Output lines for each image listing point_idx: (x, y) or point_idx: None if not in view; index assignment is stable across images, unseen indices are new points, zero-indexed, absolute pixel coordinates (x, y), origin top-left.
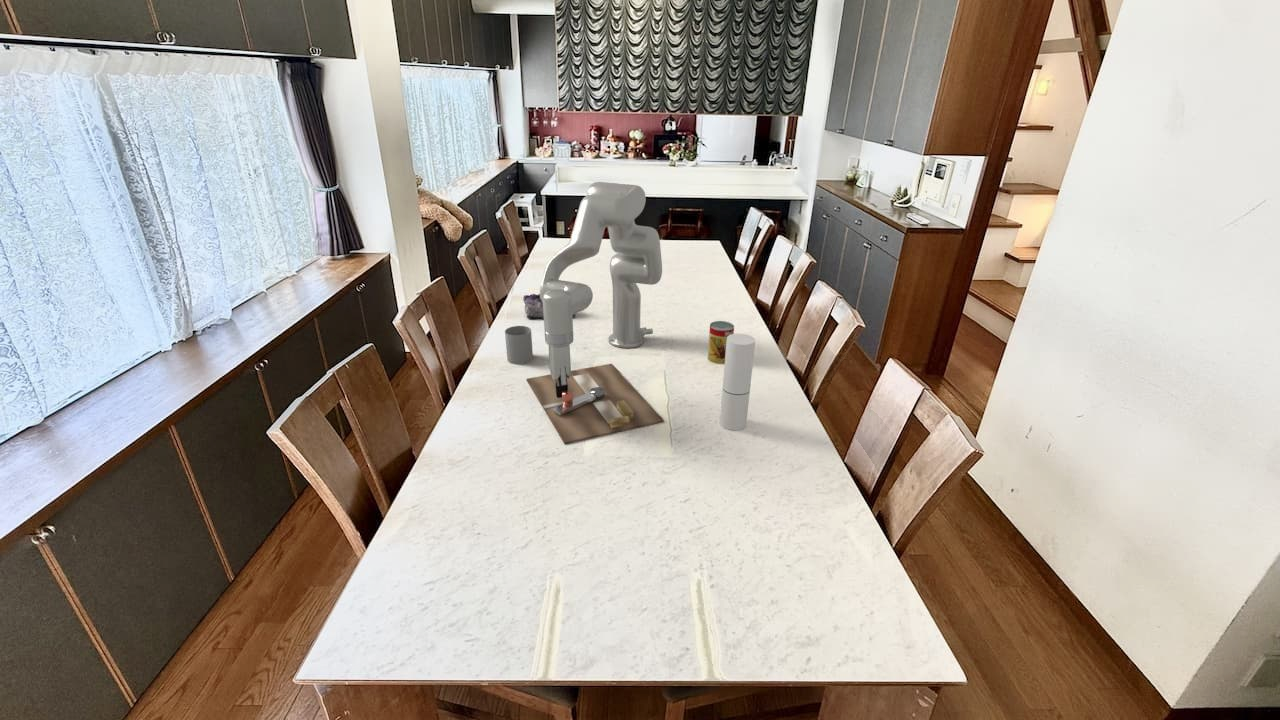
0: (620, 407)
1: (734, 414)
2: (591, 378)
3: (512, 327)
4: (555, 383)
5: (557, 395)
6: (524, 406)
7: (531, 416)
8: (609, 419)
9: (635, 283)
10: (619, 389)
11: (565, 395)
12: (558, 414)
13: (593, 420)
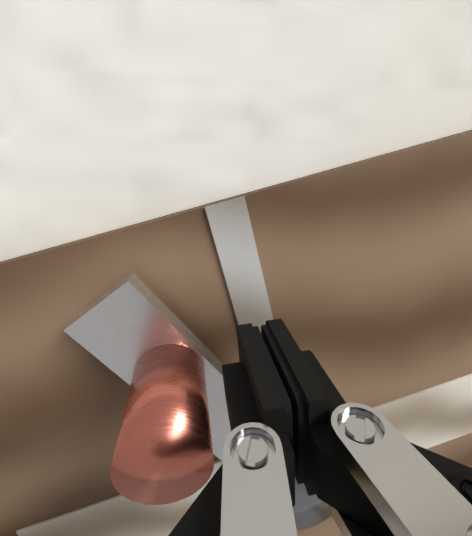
0: None
1: None
2: (466, 432)
3: None
4: (323, 392)
5: (239, 338)
6: (288, 49)
7: (127, 102)
8: (57, 531)
9: None
10: (335, 529)
11: (115, 455)
12: (85, 307)
13: (47, 473)
